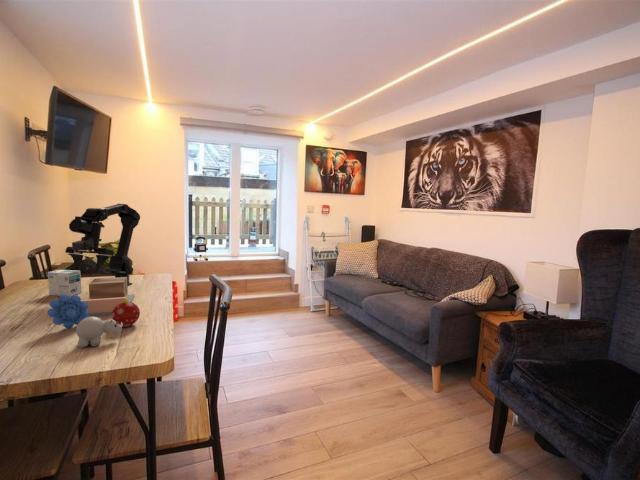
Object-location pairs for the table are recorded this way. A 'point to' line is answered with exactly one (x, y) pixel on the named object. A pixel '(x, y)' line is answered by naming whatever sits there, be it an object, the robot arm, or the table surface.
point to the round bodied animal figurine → (95, 330)
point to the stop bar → (103, 304)
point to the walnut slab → (108, 288)
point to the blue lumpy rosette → (68, 310)
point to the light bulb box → (64, 282)
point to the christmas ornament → (126, 313)
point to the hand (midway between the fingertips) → (87, 270)
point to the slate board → (130, 299)
